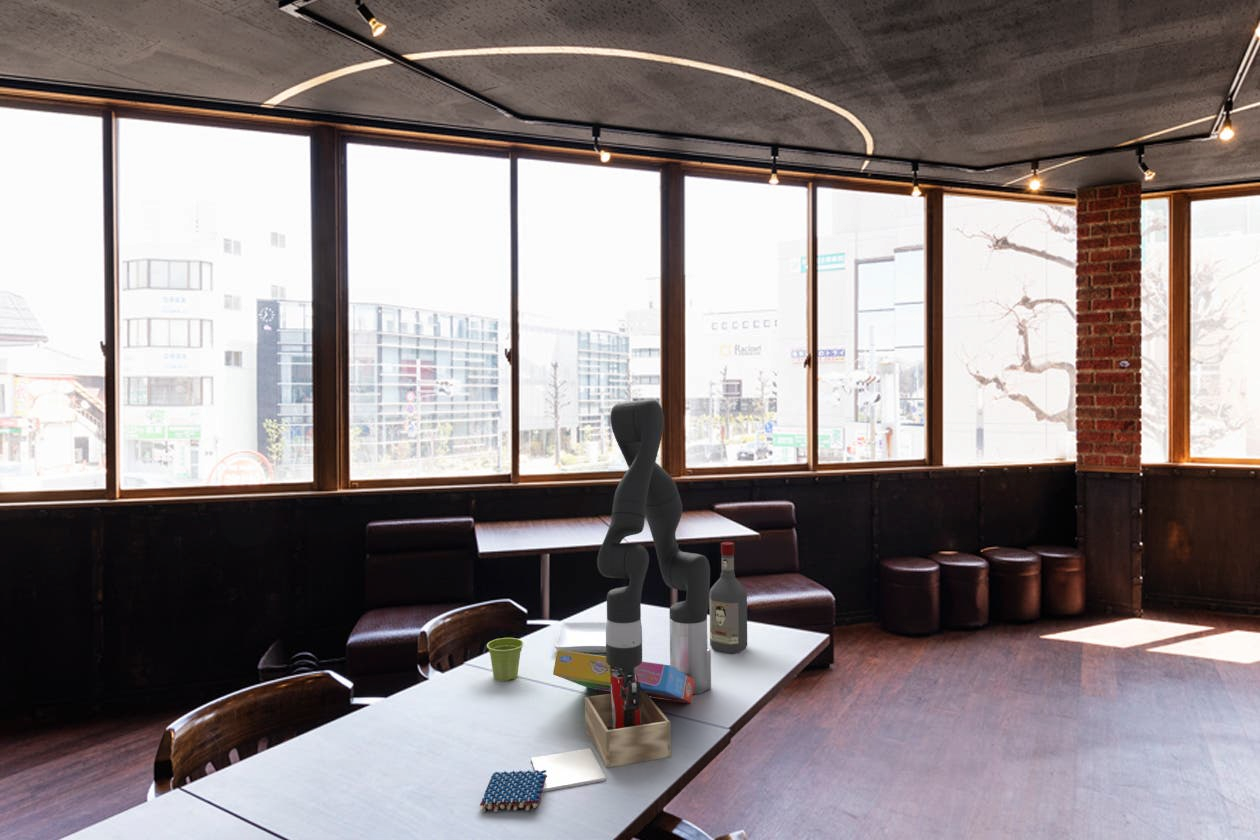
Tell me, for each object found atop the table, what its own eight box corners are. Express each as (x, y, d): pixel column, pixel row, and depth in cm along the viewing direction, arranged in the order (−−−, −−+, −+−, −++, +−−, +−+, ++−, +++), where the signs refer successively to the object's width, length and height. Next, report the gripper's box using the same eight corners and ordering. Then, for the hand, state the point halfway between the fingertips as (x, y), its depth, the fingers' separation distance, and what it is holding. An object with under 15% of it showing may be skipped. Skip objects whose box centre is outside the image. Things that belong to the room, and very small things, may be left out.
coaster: (589, 750, 146) (589, 748, 146) (605, 780, 134) (605, 777, 134) (531, 760, 142) (531, 757, 142) (542, 791, 131) (542, 789, 131)
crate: (643, 720, 159) (642, 688, 159) (670, 756, 143) (670, 721, 143) (585, 729, 155) (584, 697, 155) (606, 767, 139) (606, 732, 139)
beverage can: (644, 737, 151) (643, 666, 151) (634, 751, 145) (633, 678, 145) (618, 733, 153) (617, 663, 153) (607, 747, 147) (606, 674, 147)
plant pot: (528, 670, 190) (527, 638, 189) (519, 684, 180) (518, 650, 180) (493, 669, 190) (492, 637, 190) (482, 683, 181) (482, 649, 181)
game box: (551, 674, 161) (665, 691, 151) (556, 649, 163) (669, 664, 153) (587, 687, 178) (692, 703, 168) (591, 665, 180) (695, 679, 170)
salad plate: (630, 657, 199) (630, 645, 199) (553, 657, 199) (553, 645, 199) (631, 632, 220) (631, 621, 220) (562, 633, 221) (561, 622, 221)
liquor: (722, 640, 210) (721, 539, 210) (750, 646, 205) (749, 542, 204) (706, 649, 203) (705, 544, 202) (735, 656, 198) (734, 548, 197)
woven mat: (491, 780, 135) (491, 769, 134) (548, 778, 134) (547, 767, 134) (478, 813, 124) (477, 801, 124) (539, 811, 124) (538, 799, 124)
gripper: (652, 649, 142) (653, 733, 143) (630, 628, 156) (631, 704, 157) (616, 653, 140) (617, 739, 141) (597, 631, 154) (598, 709, 154)
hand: (624, 720), depth 149 cm, fingers closed on beverage can, 5 cm apart
